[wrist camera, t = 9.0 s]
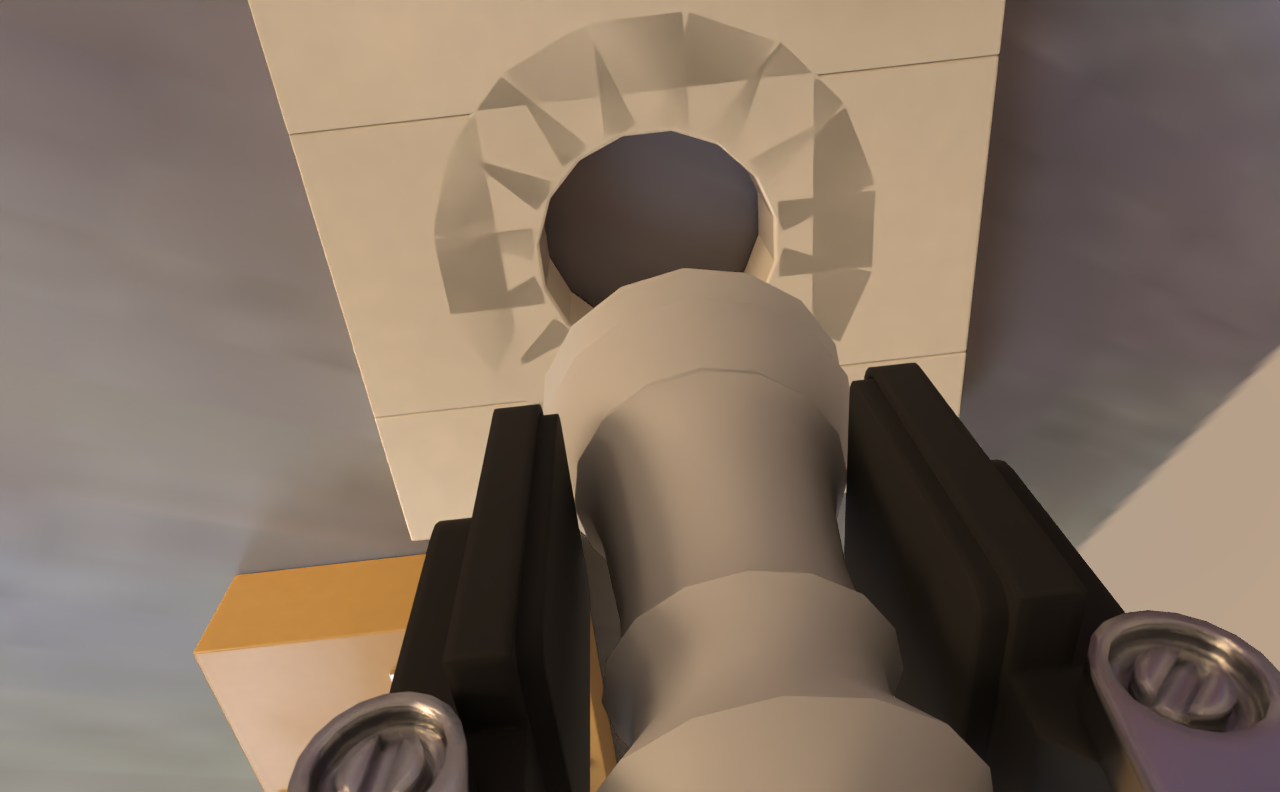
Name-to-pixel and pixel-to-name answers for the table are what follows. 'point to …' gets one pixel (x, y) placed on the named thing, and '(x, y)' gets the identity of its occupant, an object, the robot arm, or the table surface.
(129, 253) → the table surface
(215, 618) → the orange dial base
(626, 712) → the rook chess piece
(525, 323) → the white socket plate
